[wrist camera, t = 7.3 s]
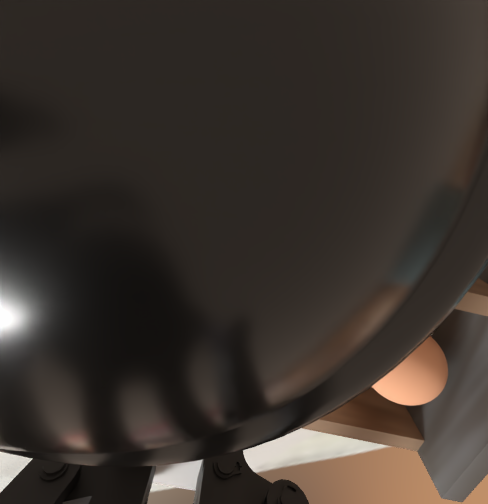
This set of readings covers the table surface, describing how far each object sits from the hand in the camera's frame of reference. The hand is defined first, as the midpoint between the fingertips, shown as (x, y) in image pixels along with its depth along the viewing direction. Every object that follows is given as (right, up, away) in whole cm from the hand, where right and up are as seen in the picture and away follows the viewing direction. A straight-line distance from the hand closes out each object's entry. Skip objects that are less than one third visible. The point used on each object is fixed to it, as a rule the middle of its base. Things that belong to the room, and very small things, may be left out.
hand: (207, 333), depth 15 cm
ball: (+11, -2, +2) cm, 12 cm away
